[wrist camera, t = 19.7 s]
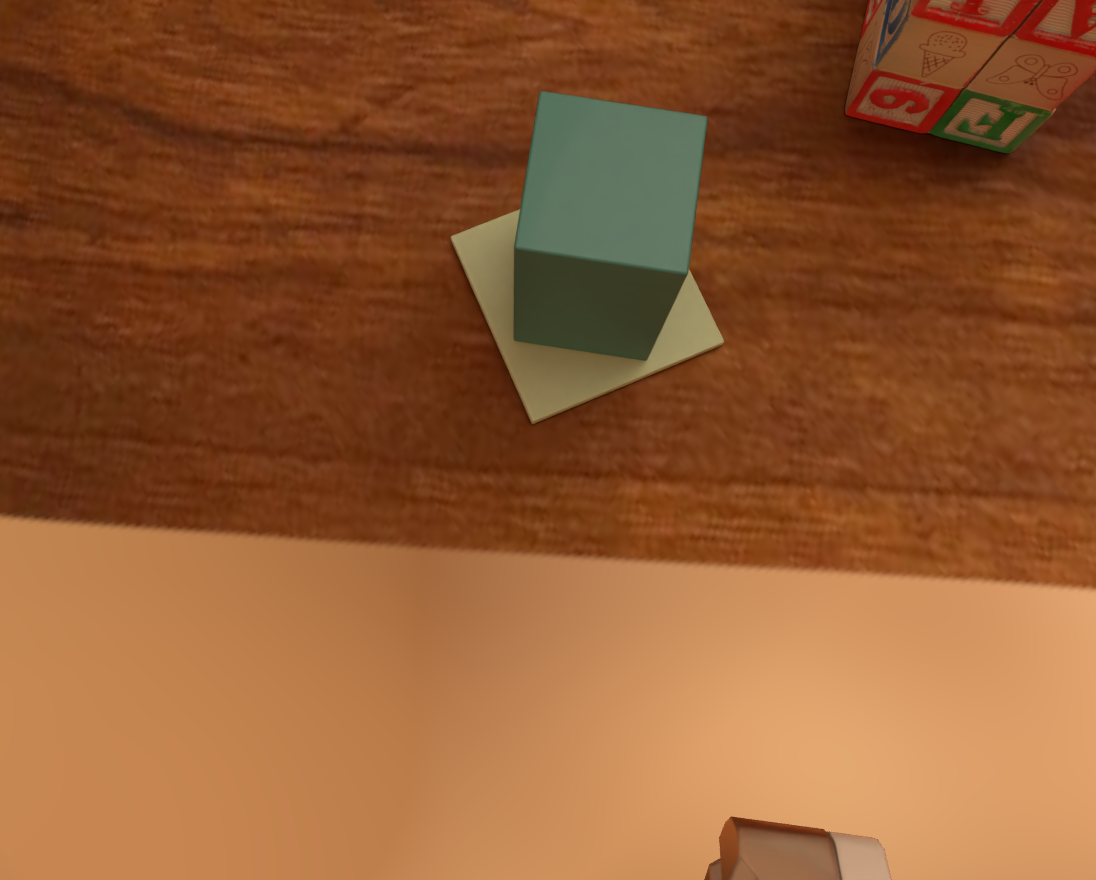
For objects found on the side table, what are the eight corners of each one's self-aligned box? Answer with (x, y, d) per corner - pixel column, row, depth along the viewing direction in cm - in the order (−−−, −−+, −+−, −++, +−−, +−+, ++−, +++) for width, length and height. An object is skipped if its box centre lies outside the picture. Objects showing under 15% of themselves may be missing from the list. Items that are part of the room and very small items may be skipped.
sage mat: (531, 424, 34) (532, 422, 33) (450, 240, 35) (449, 235, 34) (722, 345, 34) (724, 341, 34) (636, 167, 36) (638, 162, 35)
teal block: (647, 361, 34) (688, 274, 26) (512, 341, 34) (513, 248, 26) (664, 236, 35) (708, 115, 27) (533, 215, 35) (539, 89, 27)
